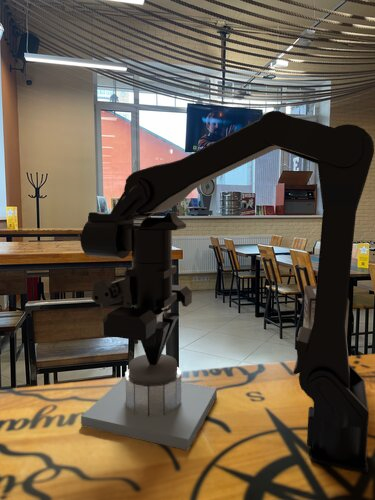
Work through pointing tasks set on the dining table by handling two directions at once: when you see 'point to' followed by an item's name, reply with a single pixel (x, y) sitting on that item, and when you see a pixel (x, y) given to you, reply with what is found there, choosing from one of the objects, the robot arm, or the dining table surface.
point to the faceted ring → (153, 396)
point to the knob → (152, 370)
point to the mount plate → (153, 428)
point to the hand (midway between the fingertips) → (153, 363)
